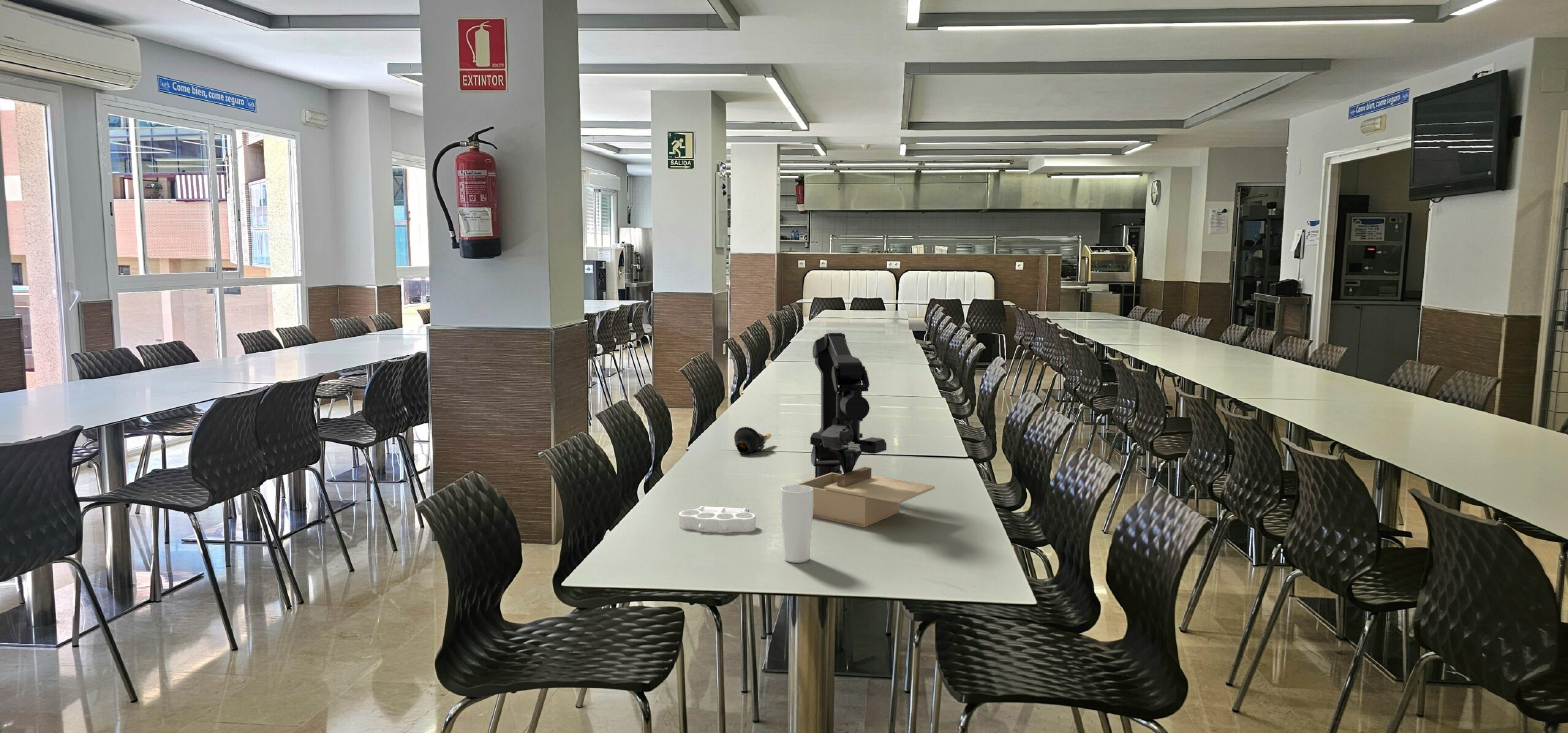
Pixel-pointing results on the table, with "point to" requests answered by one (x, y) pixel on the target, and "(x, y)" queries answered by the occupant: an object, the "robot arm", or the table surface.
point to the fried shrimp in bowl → (749, 440)
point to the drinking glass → (797, 521)
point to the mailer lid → (877, 486)
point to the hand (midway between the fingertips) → (847, 476)
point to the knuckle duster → (718, 519)
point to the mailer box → (847, 504)
